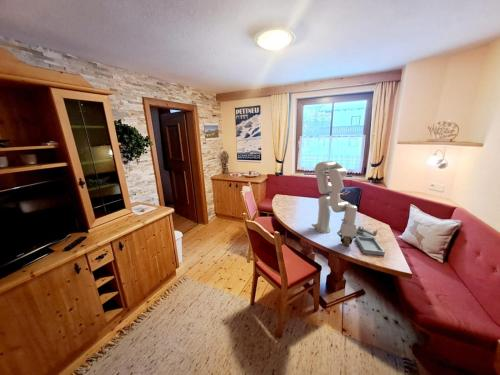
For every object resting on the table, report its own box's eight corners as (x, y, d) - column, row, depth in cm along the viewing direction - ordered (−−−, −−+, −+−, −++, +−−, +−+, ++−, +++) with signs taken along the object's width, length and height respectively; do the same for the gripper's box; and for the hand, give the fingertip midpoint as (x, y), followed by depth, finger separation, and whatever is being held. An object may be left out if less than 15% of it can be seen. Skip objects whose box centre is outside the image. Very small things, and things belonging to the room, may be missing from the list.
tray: (363, 253, 135) (364, 249, 134) (355, 239, 153) (356, 235, 152) (384, 255, 132) (385, 251, 132) (373, 241, 150) (374, 237, 149)
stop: (343, 245, 144) (344, 236, 142) (341, 242, 149) (342, 233, 147) (350, 246, 143) (351, 237, 141) (348, 243, 148) (349, 233, 146)
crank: (356, 229, 161) (357, 224, 160) (360, 228, 163) (361, 222, 162) (373, 237, 149) (375, 231, 147) (377, 235, 151) (378, 230, 150)
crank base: (353, 236, 156) (354, 233, 155) (348, 228, 169) (349, 225, 169) (372, 238, 153) (373, 235, 153) (366, 230, 167) (366, 227, 166)
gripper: (338, 222, 139) (335, 244, 144) (363, 224, 135) (359, 247, 140) (335, 218, 146) (333, 239, 151) (360, 220, 142) (356, 241, 147)
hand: (346, 242), depth 145 cm, fingers closed on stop, 5 cm apart
